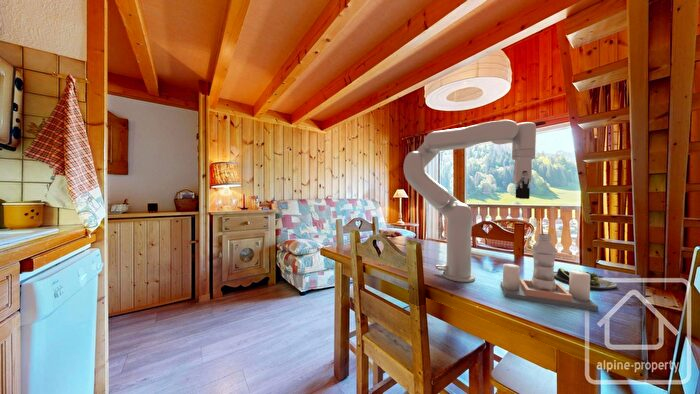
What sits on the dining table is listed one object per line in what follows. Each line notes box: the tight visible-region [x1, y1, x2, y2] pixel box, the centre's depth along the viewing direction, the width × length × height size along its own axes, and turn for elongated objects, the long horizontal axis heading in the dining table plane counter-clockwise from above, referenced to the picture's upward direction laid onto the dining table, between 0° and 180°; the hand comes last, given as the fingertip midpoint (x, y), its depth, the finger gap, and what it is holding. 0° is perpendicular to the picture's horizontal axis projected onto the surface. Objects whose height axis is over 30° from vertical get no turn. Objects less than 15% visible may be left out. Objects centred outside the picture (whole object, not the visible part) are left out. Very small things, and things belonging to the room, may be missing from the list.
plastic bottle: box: [531, 233, 557, 292], centre depth 85 cm, size 6×7×20 cm
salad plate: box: [554, 267, 618, 291], centre depth 100 cm, size 19×18×5 cm
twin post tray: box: [500, 263, 599, 312], centre depth 85 cm, size 24×12×10 cm, turn 65°
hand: (522, 198), depth 98 cm, fingers open, 9 cm apart
